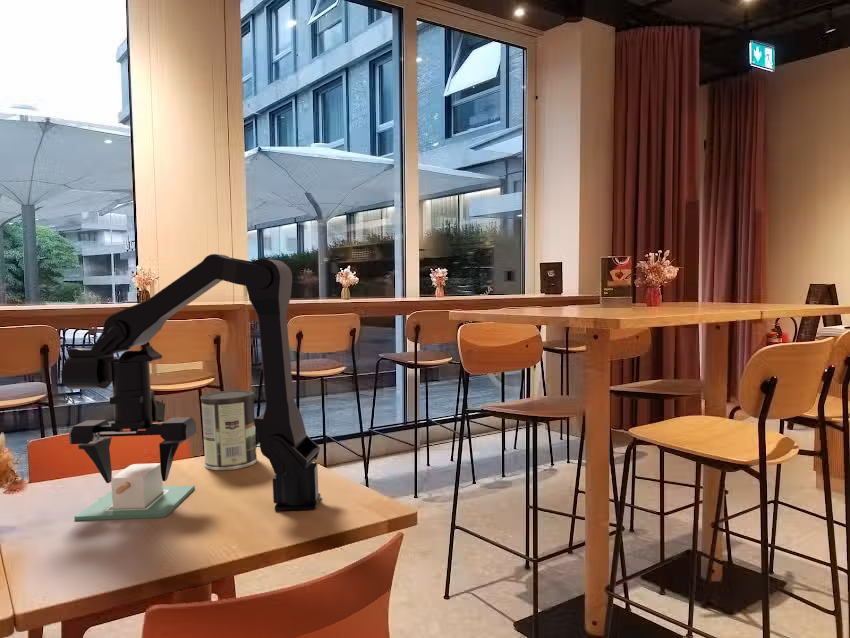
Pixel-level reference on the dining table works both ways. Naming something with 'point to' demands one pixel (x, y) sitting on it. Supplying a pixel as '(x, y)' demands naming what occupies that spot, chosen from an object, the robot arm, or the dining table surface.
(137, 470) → the block
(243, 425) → the coffee can
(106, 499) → the pin board
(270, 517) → the dining table surface
